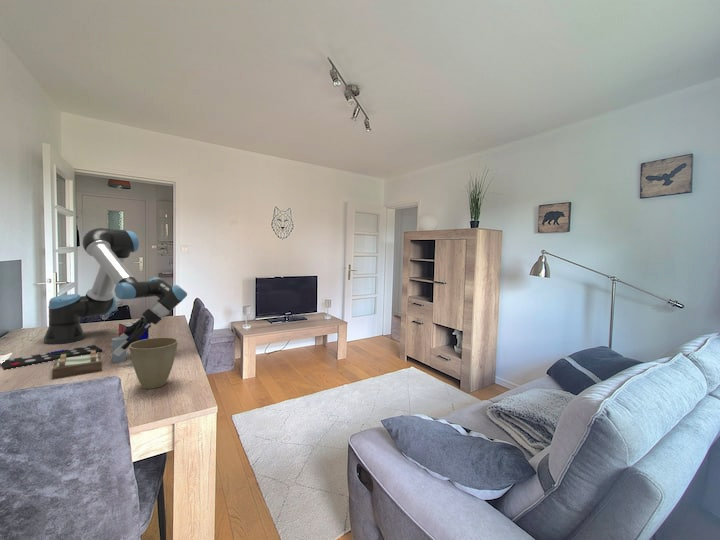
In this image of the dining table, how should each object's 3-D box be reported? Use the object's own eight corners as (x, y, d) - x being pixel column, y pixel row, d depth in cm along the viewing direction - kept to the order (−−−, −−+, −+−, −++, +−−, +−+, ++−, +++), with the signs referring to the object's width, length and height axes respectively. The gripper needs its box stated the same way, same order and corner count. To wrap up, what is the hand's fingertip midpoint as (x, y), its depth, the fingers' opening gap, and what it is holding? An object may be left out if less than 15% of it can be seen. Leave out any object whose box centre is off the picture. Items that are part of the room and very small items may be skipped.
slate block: (111, 360, 133) (112, 338, 133) (124, 358, 136) (124, 336, 136) (112, 363, 130) (112, 340, 130) (125, 361, 133) (125, 338, 133)
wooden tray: (55, 368, 122) (55, 354, 122) (100, 361, 131) (100, 348, 131) (52, 379, 112) (52, 363, 112) (101, 370, 122) (101, 356, 122)
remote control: (0, 364, 124) (-1, 359, 124) (94, 347, 149) (94, 343, 149) (4, 371, 118) (4, 366, 118) (102, 352, 143) (102, 348, 143)
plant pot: (178, 374, 122) (179, 335, 121) (175, 389, 109) (176, 346, 108) (132, 379, 115) (133, 338, 114) (124, 396, 102) (125, 350, 101)
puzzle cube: (126, 346, 153) (126, 326, 153) (118, 342, 158) (118, 323, 158) (148, 341, 162) (149, 323, 161) (140, 338, 167) (140, 320, 166)
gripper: (167, 323, 134) (124, 363, 125) (157, 313, 152) (119, 347, 143) (153, 312, 130) (108, 353, 121) (145, 304, 148) (104, 338, 139)
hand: (114, 350), depth 132 cm, fingers open, 13 cm apart
